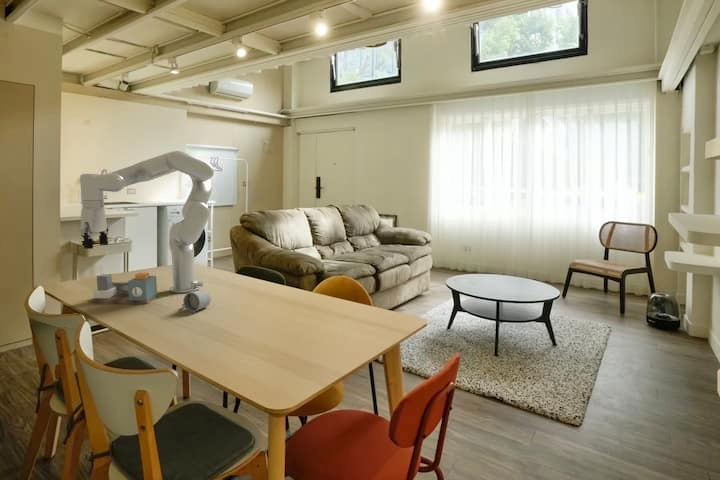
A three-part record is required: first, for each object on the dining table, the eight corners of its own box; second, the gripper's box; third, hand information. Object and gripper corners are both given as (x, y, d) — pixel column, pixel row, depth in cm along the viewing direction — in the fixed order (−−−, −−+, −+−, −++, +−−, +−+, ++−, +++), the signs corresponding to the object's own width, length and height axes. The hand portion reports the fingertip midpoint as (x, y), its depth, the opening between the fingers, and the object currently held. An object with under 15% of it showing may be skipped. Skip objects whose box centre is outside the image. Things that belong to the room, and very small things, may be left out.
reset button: (149, 279, 181) (149, 272, 180) (145, 281, 177) (144, 274, 176) (139, 279, 180) (139, 272, 180) (135, 281, 176) (135, 274, 176)
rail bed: (157, 297, 185) (156, 282, 184) (146, 303, 175) (145, 287, 174) (102, 297, 184) (101, 281, 183) (89, 303, 174) (88, 287, 173)
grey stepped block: (117, 294, 182) (116, 273, 181) (108, 298, 175) (107, 277, 174) (102, 294, 182) (101, 273, 181) (93, 298, 175) (92, 277, 174)
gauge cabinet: (157, 293, 185) (156, 275, 183) (145, 300, 174) (144, 281, 173) (140, 293, 184) (139, 275, 183) (128, 300, 174) (127, 281, 173)
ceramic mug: (212, 307, 172) (212, 288, 171) (199, 312, 164) (198, 293, 163) (190, 305, 175) (189, 286, 174) (176, 310, 167) (175, 291, 166)
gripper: (97, 203, 180) (100, 243, 183) (69, 205, 163) (73, 250, 166) (114, 203, 180) (117, 243, 183) (88, 206, 163) (92, 250, 165)
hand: (96, 246), depth 174 cm, fingers open, 9 cm apart
